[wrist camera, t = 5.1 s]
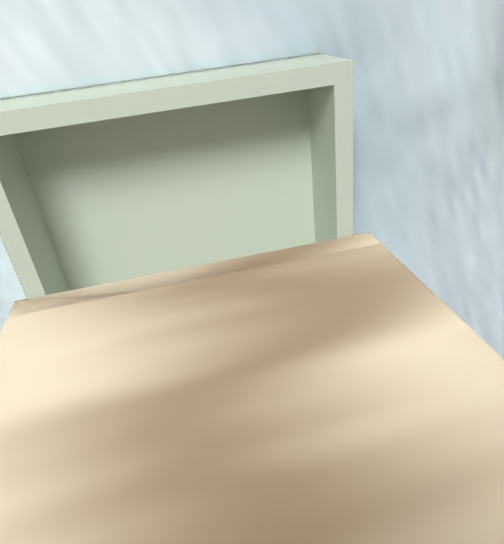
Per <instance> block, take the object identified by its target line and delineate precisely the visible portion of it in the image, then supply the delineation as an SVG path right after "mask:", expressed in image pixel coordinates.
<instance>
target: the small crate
mask: <svg viewBox="0 0 504 544" xmlns="http://www.w3.org/2000/svg"><path fill="white" fill-rule="evenodd" d="M0 544H504V359H503V358H502V357H501V356H500V355H499V354H498V353H497V352H496V351H495V350H494V349H492V348H491V347H490V346H489V345H488V344H487V343H486V342H485V341H484V340H483V339H482V338H481V337H480V336H479V335H478V334H477V333H475V332H474V331H473V330H472V329H471V328H470V327H469V326H468V325H467V324H466V323H465V322H464V321H463V320H462V319H461V318H460V317H458V316H457V315H456V314H455V313H454V312H453V311H452V310H451V309H450V308H449V307H448V306H447V305H446V304H445V303H444V302H443V301H441V300H440V299H439V298H438V297H437V296H436V295H435V294H434V293H433V292H432V291H431V290H430V289H429V288H428V287H427V286H426V285H424V284H423V283H422V282H421V281H420V280H419V279H418V278H417V277H416V276H415V275H414V274H413V273H412V272H411V271H410V270H409V269H407V268H406V267H405V266H404V265H403V264H402V263H401V262H400V261H399V260H398V259H397V258H396V257H395V256H394V255H393V254H391V253H390V252H389V251H388V250H387V249H386V248H385V247H384V246H383V245H382V244H381V243H380V242H379V241H378V240H377V239H376V238H374V237H373V236H372V235H371V234H370V233H369V232H368V233H363V234H358V235H353V236H348V237H342V238H337V239H332V240H327V241H322V242H317V243H312V244H306V245H301V246H296V247H291V248H286V249H281V250H276V251H271V252H265V253H260V254H255V255H250V256H245V257H240V258H235V259H229V260H224V261H219V262H214V263H209V264H204V265H199V266H194V267H188V268H183V269H178V270H173V271H168V272H163V273H158V274H152V275H147V276H142V277H137V278H132V279H127V280H122V281H117V282H111V283H106V284H101V285H96V286H91V287H86V288H81V289H75V290H70V291H65V292H60V293H55V294H50V295H45V296H40V297H34V298H29V299H24V300H19V301H15V302H14V305H13V307H12V309H11V311H10V313H9V315H8V318H7V320H6V322H5V324H4V326H3V328H2V331H1V333H0Z"/></svg>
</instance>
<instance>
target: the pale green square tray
mask: <svg viewBox="0 0 504 544" xmlns="http://www.w3.org/2000/svg"><path fill="white" fill-rule="evenodd" d="M348 236H353V60H350V59H345V58H340V57H334V56H329V55H324V54H318V53H317V54H310V55H303V56H296V57H289V58H282V59H275V60H268V61H261V62H254V63H247V64H240V65H233V66H226V67H219V68H212V69H205V70H198V71H191V72H184V73H177V74H170V75H163V76H156V77H149V78H142V79H135V80H128V81H121V82H114V83H107V84H100V85H93V86H86V87H79V88H72V89H65V90H58V91H51V92H44V93H37V94H30V95H23V96H16V97H9V98H2V99H0V237H1V239H2V242H3V244H4V246H5V249H6V251H7V253H8V256H9V258H10V260H11V263H12V265H13V267H14V270H15V272H16V274H17V277H18V279H19V281H20V284H21V286H22V288H23V291H24V293H25V295H26V298H27V299H29V298H34V297H40V296H45V295H50V294H55V293H60V292H65V291H70V290H75V289H81V288H86V287H91V286H96V285H101V284H106V283H111V282H117V281H122V280H127V279H132V278H137V277H142V276H147V275H152V274H158V273H163V272H168V271H173V270H178V269H183V268H188V267H194V266H199V265H204V264H209V263H214V262H219V261H224V260H229V259H235V258H240V257H245V256H250V255H255V254H260V253H265V252H271V251H276V250H281V249H286V248H291V247H296V246H301V245H306V244H312V243H317V242H322V241H327V240H332V239H337V238H342V237H348Z"/></svg>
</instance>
